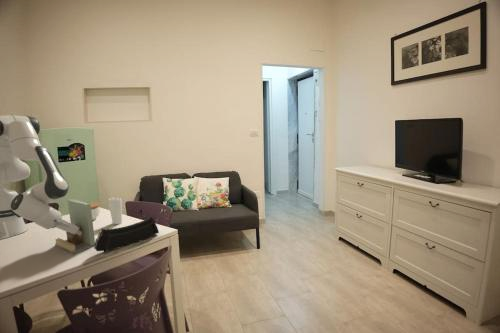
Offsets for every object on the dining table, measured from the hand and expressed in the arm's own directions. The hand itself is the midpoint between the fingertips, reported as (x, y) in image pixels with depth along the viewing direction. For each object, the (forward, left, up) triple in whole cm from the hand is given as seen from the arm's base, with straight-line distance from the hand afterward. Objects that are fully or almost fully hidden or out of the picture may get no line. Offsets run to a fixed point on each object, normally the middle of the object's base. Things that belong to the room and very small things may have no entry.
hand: (75, 232), depth 137 cm
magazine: (+25, -8, -7) cm, 27 cm away
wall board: (-1, -1, -7) cm, 7 cm away
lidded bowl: (-4, +41, -7) cm, 41 cm away
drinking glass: (+14, +27, -7) cm, 31 cm away
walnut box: (0, 0, -6) cm, 6 cm away
